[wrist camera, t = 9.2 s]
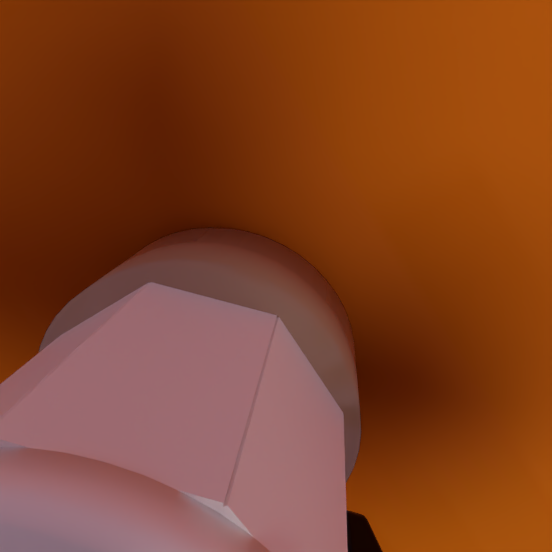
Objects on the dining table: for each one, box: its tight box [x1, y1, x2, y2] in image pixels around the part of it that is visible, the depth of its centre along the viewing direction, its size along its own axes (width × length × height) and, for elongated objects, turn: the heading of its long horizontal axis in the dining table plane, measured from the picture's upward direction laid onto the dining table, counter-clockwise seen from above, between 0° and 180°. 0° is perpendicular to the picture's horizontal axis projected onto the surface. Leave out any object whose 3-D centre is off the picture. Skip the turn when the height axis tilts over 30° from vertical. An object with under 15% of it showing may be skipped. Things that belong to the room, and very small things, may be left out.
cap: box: [0, 282, 348, 552], centre depth 7 cm, size 7×7×5 cm
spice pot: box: [39, 227, 361, 482], centre depth 9 cm, size 8×8×7 cm
